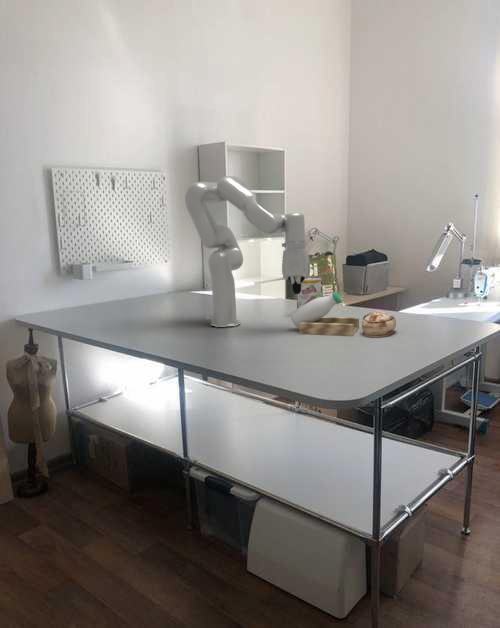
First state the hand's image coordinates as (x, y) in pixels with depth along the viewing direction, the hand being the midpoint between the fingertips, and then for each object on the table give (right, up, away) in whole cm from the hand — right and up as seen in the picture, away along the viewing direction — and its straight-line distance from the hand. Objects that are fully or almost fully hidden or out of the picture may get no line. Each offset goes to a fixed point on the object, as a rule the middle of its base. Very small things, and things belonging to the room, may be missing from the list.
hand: (297, 293), depth 208 cm
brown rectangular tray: (+12, -14, -2) cm, 19 cm away
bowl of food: (+30, -15, -9) cm, 34 cm away
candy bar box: (+8, -9, +30) cm, 33 cm away
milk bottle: (-1, -11, +2) cm, 11 cm away
